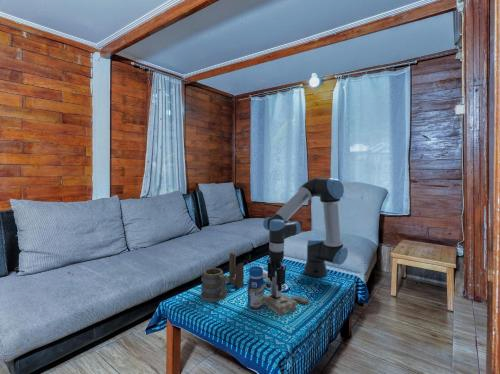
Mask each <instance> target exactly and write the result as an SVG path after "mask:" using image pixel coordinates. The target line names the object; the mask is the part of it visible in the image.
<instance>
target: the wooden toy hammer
mask: <svg viewBox="0 0 500 374" xmlns="http://www.w3.org/2000/svg"><path fill="white" fill-rule="evenodd" d="M228 257H229V261H228V262H229V263H228V264H229V266H228V268H229V273H228V274H229V275H227V276H228V278H229V279H230V280H229V281H228V283H229V284H231V285H234V286H235V287H236V288H242V287H244V278H245V277H244V276H245V275H244V273H245V272H244V270H245V269H244V267H245V263H244V262H242V263H238V265H236V252H229V256H228Z"/></svg>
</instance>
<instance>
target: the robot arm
mask: <svg viewBox="0 0 500 374" xmlns="http://www.w3.org/2000/svg"><path fill="white" fill-rule="evenodd" d="M344 192H345V189H344V185H343V182H342V181H341V180H340V179H338V178H332V177H330V178H328V177H315V178H311V179H309V180H308V181H306V182H305V183H303V184H301V186H300V187H299V188H298V189H297V192H296V193H295V194H294V195H293V196H292V197H291V198H290V199H289V200H288V201H286V203H285V204H283V206H282V207H281V208H279V210H278V211H276V212H275V213H274V215H273V216H268V217H265V218H264V220H263V221H262V222H263V224H262V225H263V228H264V229H265V230H267V231H269V247H268V248H269V249H268V257H269V258H267V259H266V263H267V264H266V265H267V272H268V278H269V279H270V285H269V286H270V294H272V276H275V274H276V276H277V284H276V297H279V296H281V293H282V289H283V288H282V286H283V285H285V283H286V270H287V265H286V264H284V263H283V259H284V258H285V251H284V250H285V238H287V237H293V236H297V235H299V234H300V233H301V231H302V226H301V222H299V221H298V220H291V221H288V220H289V219H290V218H291V217H292V216H294V214H295V213H296V212H297V211H298V210H299V209H300V208H301V207H302V206H303V205H304V204H305V203H306V202H307V201H309V200H311V199H312V198H313V197H314V198H315V197H318V198H319V200H320V202H321V203H322V205H323V206H322V207H323V217H324V218H323V219H324V220H323V221H324V230H325V238H324V237H322V238H321V237H314V238H309V239H308V240H307V245H306V246H307V247H306V248H307V249H306V250H307V251H306V262H305V265H304V267H303V268H304V269H303V273H304V274H305V275H307V276H310V277H316V278H319V277H320V278H321V277H325V276H327V275H328V268H327V266H326V265H327V264H326V262H328V263H331V264H334V265H338V266H340V265H343V264H344V263H345V262H346V260H347V258H348V254H349V251H348V248H347V247H346V246H344V241H343V240H342V239H341V231H340V216H339V204H338V203H339V202H340V201H341V199H342V197H343V196H344Z"/></svg>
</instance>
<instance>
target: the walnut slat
mask: <svg viewBox="0 0 500 374" xmlns="http://www.w3.org/2000/svg"><path fill="white" fill-rule="evenodd" d="M290 298H291V299H293V300H294V301H296V302H297V304H298V303H299V304H303V305H307V306H308V304H309V301H310V299H308V298H303V297H300V296H295V295H292V296H291V297H290Z"/></svg>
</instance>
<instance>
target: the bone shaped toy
mask: <svg viewBox="0 0 500 374" xmlns="http://www.w3.org/2000/svg"><path fill="white" fill-rule="evenodd" d="M258 267H261V268H262V269H263V275H262V278H263V280H264V281H266V282H267V284H268V285H269V284H270V279H269V278H268V270H265V269H264V266H263V265H259V266H258ZM275 275H276V274H275Z"/></svg>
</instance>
